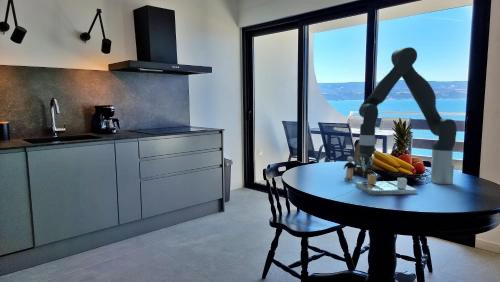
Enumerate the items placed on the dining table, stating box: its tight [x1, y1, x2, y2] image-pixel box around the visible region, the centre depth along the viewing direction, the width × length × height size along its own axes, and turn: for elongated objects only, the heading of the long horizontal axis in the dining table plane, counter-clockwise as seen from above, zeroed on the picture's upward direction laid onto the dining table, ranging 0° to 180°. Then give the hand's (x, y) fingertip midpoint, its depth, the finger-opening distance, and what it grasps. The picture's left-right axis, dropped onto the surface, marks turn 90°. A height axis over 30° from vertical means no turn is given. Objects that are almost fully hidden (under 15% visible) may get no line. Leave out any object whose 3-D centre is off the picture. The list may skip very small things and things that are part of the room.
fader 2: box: [396, 177, 408, 189], centre depth 152 cm, size 3×3×5 cm
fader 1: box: [366, 173, 377, 184], centre depth 161 cm, size 3×3×5 cm
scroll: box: [353, 139, 375, 177], centre depth 194 cm, size 15×15×20 cm
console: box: [355, 180, 418, 196], centre depth 158 cm, size 22×17×2 cm
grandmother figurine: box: [343, 156, 358, 181], centre depth 181 cm, size 8×4×13 cm, turn 62°
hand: (365, 177), depth 168 cm, fingers closed
